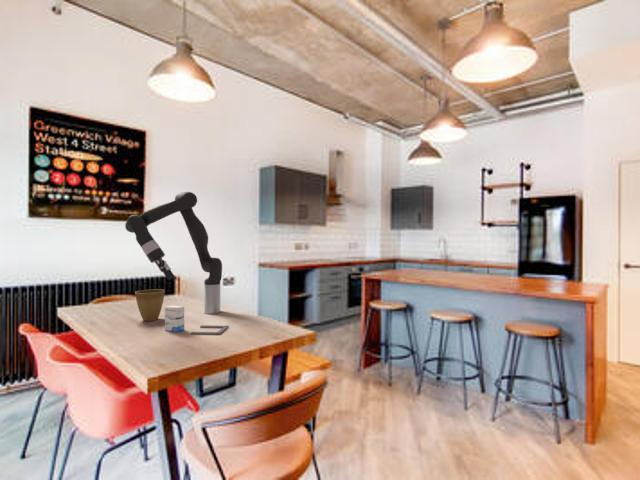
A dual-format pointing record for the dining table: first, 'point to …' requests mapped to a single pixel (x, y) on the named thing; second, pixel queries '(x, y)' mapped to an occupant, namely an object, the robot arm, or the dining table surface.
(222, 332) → the frame
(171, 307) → the ink box
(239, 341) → the dining table surface
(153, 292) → the plant pot
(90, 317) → the dining table surface
